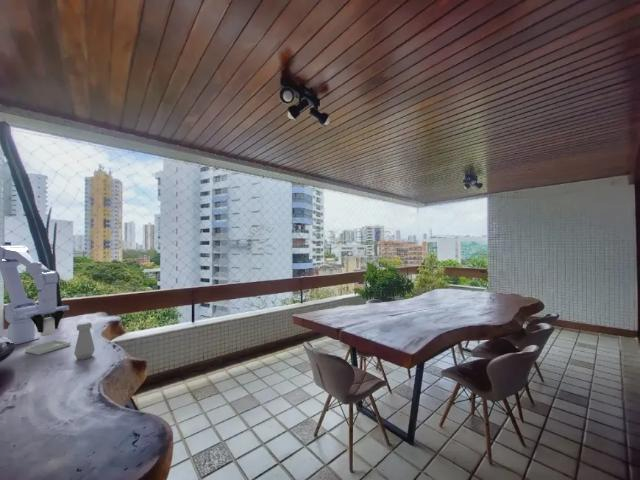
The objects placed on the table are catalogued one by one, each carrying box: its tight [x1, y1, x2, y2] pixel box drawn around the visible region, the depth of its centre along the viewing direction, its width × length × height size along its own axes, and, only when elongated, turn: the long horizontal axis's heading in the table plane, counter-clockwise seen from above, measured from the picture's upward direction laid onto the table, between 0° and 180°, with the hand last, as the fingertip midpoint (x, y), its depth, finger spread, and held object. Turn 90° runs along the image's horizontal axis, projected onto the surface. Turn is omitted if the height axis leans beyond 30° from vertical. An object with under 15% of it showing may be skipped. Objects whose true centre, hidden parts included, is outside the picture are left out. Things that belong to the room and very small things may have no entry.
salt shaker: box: [73, 321, 95, 361], centre depth 103 cm, size 6×6×13 cm
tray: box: [24, 339, 71, 356], centre depth 114 cm, size 10×10×2 cm
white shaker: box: [40, 316, 56, 337], centre depth 121 cm, size 4×4×7 cm
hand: (47, 330), depth 121 cm, fingers closed on white shaker, 4 cm apart
